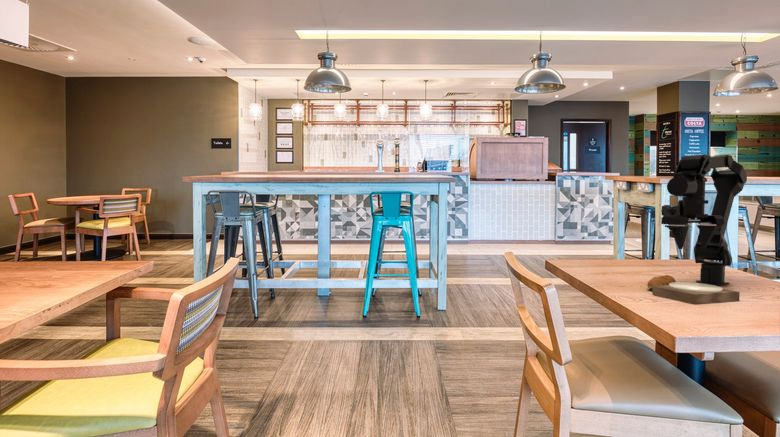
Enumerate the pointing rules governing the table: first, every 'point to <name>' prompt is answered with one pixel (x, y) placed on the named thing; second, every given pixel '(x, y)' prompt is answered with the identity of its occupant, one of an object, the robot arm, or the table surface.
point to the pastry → (660, 281)
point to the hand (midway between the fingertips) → (691, 248)
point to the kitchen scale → (695, 293)
